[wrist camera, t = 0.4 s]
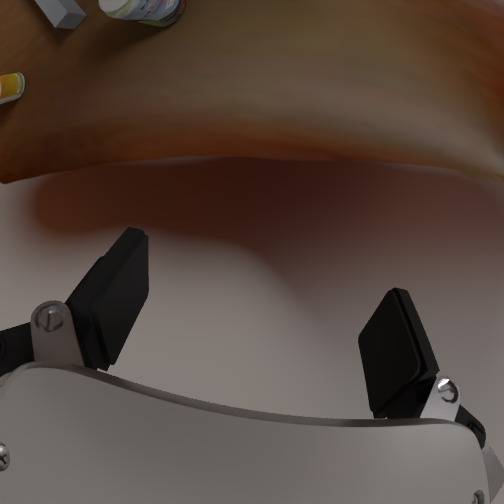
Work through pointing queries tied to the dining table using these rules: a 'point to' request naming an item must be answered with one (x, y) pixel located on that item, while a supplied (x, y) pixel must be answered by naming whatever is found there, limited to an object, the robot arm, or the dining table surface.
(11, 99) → the supplement bottle
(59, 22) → the grey long bar
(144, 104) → the dining table surface
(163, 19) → the beverage can
